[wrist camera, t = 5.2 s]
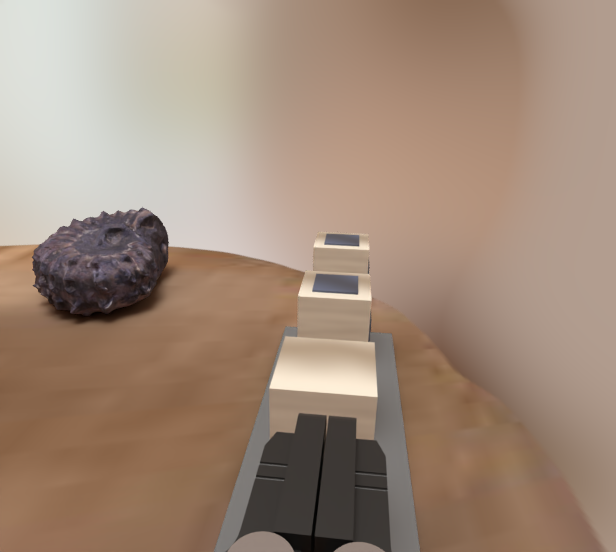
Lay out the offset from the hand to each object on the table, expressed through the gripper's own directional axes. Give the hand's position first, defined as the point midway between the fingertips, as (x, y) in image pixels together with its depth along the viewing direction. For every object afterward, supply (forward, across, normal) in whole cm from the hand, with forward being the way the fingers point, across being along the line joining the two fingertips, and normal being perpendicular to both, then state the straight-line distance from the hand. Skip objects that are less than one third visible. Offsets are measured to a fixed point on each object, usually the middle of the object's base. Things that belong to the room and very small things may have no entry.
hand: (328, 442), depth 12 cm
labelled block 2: (+22, -1, -16) cm, 27 cm away
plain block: (+11, -1, -16) cm, 20 cm away
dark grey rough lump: (+44, -31, -17) cm, 57 cm away
